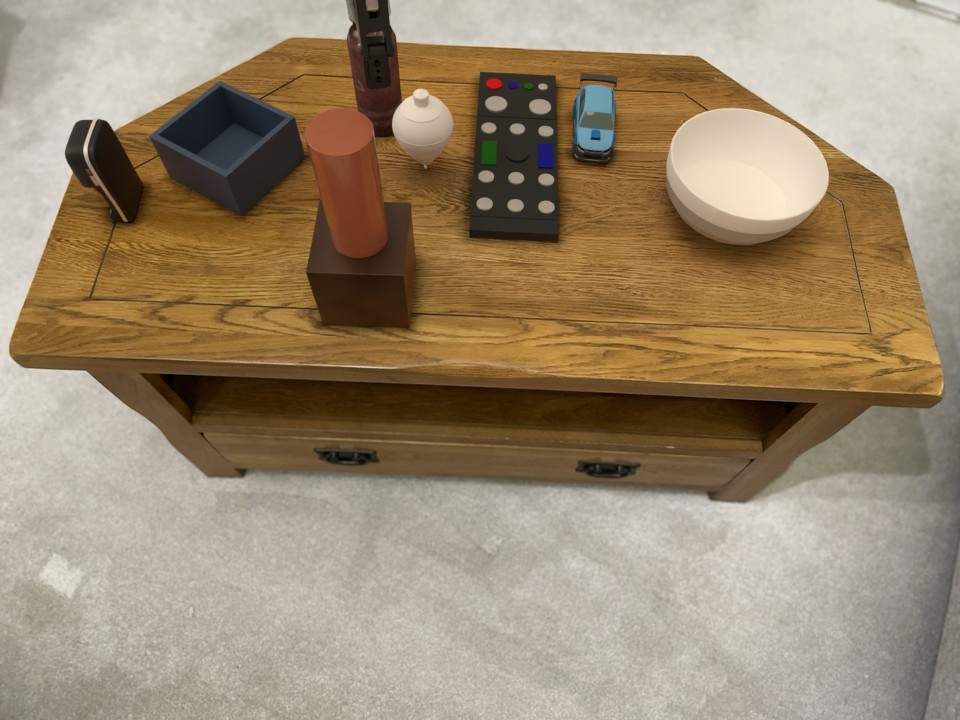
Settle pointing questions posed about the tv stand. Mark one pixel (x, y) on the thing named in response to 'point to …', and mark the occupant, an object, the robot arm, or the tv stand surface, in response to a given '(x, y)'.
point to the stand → (365, 275)
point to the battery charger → (104, 167)
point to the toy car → (594, 120)
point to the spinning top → (422, 126)
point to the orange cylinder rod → (348, 180)
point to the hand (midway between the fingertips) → (371, 56)
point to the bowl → (744, 175)
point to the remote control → (515, 159)
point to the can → (375, 101)
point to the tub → (229, 146)
